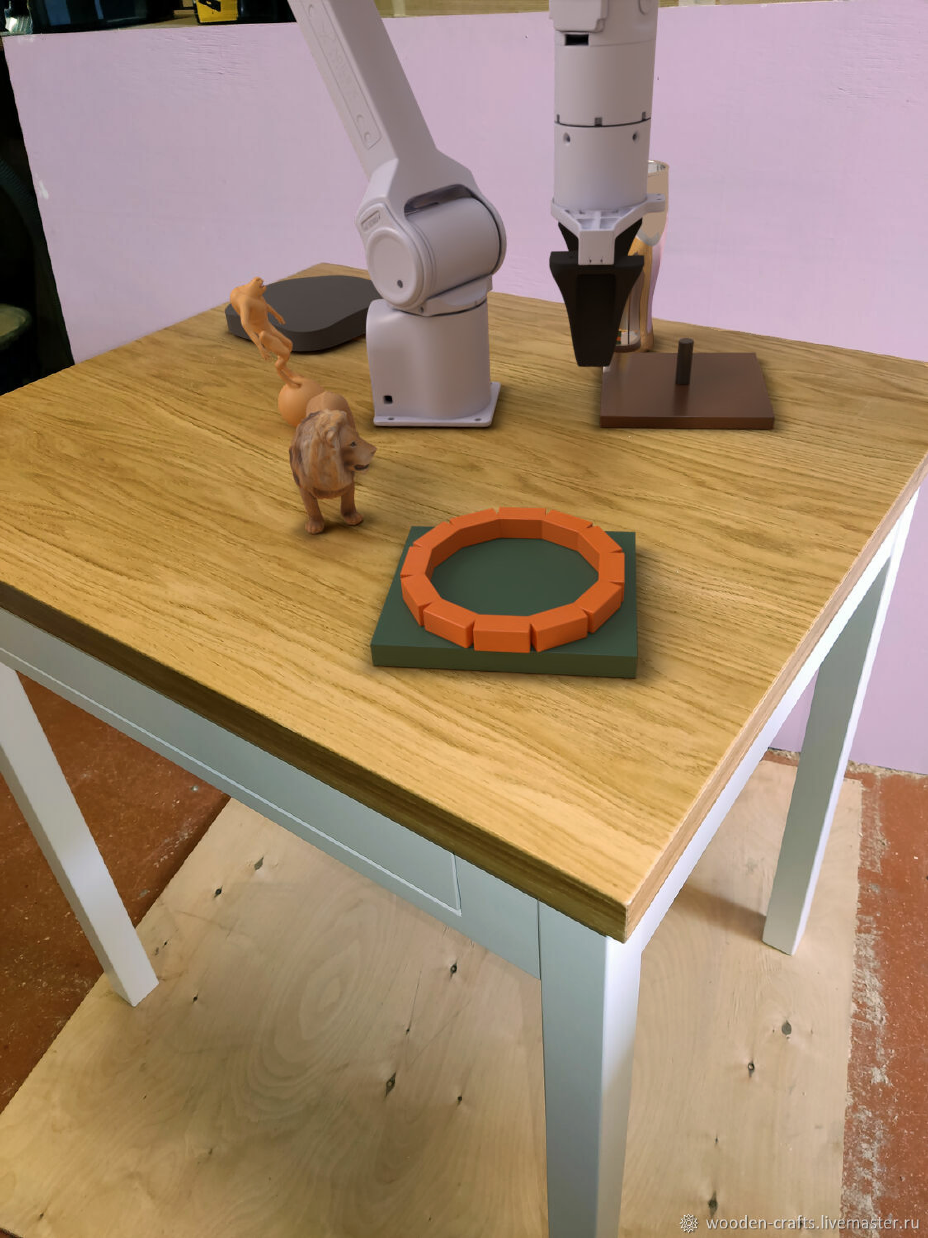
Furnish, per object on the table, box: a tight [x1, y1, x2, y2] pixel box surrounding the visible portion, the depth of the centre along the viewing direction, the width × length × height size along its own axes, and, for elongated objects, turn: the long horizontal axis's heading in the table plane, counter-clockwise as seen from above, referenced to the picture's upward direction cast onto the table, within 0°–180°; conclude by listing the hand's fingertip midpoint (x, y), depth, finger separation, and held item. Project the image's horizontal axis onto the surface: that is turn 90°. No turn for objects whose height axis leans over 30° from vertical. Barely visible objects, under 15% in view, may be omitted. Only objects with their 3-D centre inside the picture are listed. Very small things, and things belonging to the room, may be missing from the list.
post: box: [599, 337, 776, 430], centre depth 73 cm, size 13×13×4 cm
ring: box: [400, 506, 625, 653], centre depth 51 cm, size 12×12×1 cm
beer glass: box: [614, 159, 670, 353], centre depth 80 cm, size 7×7×15 cm
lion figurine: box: [288, 390, 378, 535], centre depth 61 cm, size 15×5×9 cm, turn 13°
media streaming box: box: [224, 274, 384, 352], centre depth 92 cm, size 15×15×3 cm
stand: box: [369, 525, 639, 679], centre depth 52 cm, size 14×12×2 cm
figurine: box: [229, 276, 326, 429], centre depth 70 cm, size 8×6×12 cm
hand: (595, 343), depth 62 cm, fingers open, 7 cm apart
